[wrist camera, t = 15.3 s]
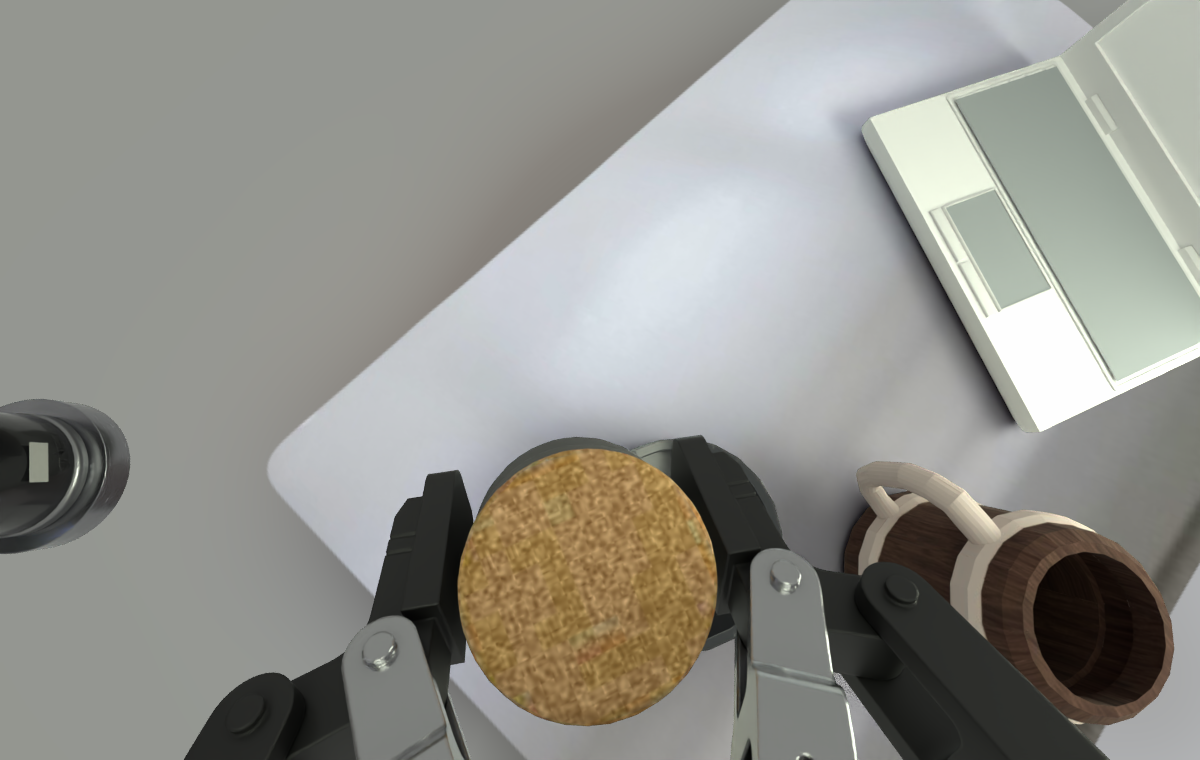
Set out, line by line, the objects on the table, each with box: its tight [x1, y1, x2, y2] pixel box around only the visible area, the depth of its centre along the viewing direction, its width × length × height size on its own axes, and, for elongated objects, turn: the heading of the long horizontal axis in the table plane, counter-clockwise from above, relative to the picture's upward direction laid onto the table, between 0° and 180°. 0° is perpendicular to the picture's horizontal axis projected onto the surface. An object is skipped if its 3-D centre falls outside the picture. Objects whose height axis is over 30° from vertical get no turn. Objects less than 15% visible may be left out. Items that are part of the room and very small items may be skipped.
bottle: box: [458, 437, 717, 726], centre depth 16 cm, size 6×6×15 cm
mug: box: [844, 461, 1174, 725], centre depth 36 cm, size 20×15×15 cm
